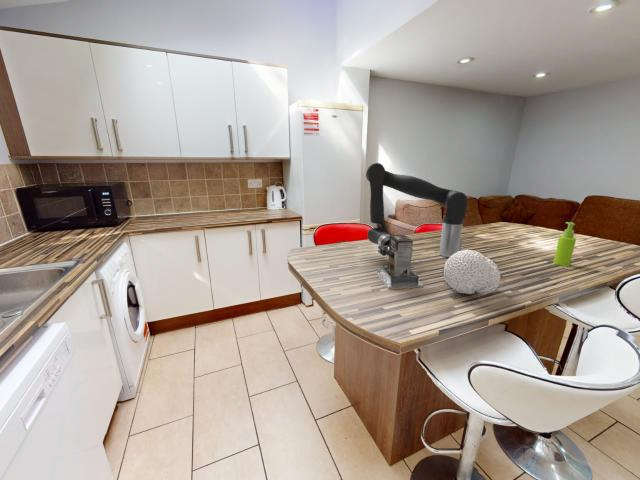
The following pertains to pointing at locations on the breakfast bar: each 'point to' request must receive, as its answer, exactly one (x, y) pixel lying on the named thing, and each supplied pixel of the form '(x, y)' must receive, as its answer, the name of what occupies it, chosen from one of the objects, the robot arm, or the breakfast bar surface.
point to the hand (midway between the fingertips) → (401, 255)
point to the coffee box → (400, 255)
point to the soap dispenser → (565, 247)
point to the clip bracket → (399, 280)
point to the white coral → (471, 273)
